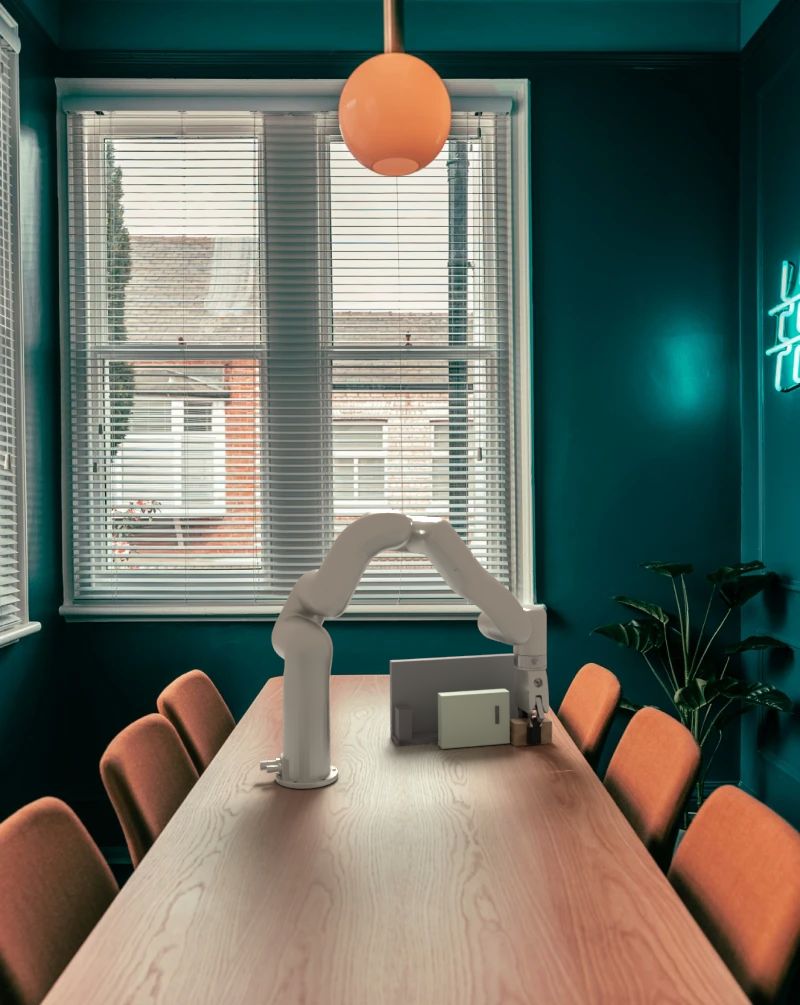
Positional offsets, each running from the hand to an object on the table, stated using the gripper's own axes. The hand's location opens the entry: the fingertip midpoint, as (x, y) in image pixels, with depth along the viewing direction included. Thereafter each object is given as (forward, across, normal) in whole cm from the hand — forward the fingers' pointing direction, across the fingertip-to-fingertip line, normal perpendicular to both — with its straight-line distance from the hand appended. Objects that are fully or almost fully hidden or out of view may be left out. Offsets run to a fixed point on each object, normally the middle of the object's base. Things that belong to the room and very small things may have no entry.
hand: (529, 740), depth 176 cm
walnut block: (0, 0, 0) cm, 0 cm away
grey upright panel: (+1, +9, +13) cm, 16 cm away
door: (+1, +1, +13) cm, 13 cm away
